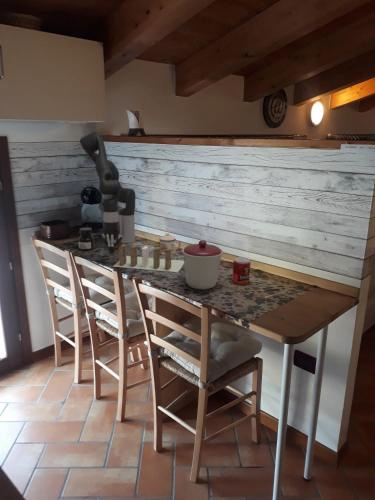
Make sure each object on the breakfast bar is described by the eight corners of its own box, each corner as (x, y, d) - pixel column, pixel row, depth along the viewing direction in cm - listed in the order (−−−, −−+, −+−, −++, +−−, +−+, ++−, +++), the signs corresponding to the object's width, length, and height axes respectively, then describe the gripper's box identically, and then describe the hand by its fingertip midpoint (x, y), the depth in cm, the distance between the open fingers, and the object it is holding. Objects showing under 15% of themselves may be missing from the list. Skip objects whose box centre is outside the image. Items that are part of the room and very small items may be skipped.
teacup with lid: (156, 253, 221) (156, 233, 218) (167, 250, 227) (167, 230, 224) (170, 257, 213) (170, 237, 210) (182, 254, 220) (182, 234, 216)
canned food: (238, 286, 175) (240, 263, 172) (228, 280, 182) (230, 258, 179) (252, 283, 179) (254, 260, 175) (242, 278, 185) (243, 256, 182)
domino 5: (167, 266, 198) (167, 247, 195) (171, 267, 197) (171, 248, 194) (165, 269, 193) (165, 250, 190) (168, 270, 193) (168, 250, 190)
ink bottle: (75, 249, 225) (73, 229, 221) (84, 245, 233) (83, 226, 229) (89, 251, 221) (87, 231, 218) (98, 248, 229) (97, 228, 226)
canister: (229, 285, 175) (231, 240, 169) (203, 296, 163) (205, 248, 157) (199, 275, 187) (200, 233, 181) (172, 285, 174) (173, 240, 169)
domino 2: (134, 263, 201) (133, 245, 198) (137, 264, 201) (137, 245, 198) (130, 266, 196) (130, 247, 194) (134, 267, 196) (133, 248, 193)
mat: (125, 256, 214) (125, 255, 214) (185, 261, 208) (185, 260, 208) (112, 266, 197) (112, 266, 197) (177, 272, 190) (177, 272, 190)
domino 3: (145, 264, 200) (145, 246, 197) (148, 265, 200) (148, 246, 197) (142, 267, 195) (141, 248, 192) (145, 268, 195) (145, 249, 192)
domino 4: (156, 265, 199) (156, 247, 196) (159, 266, 198) (159, 247, 196) (153, 268, 194) (153, 249, 191) (156, 269, 194) (156, 250, 191)
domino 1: (123, 262, 202) (122, 244, 199) (126, 263, 202) (125, 244, 199) (119, 265, 198) (118, 246, 195) (122, 266, 197) (122, 247, 194)
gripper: (95, 220, 192) (96, 254, 197) (120, 222, 189) (121, 256, 194) (101, 218, 199) (103, 250, 204) (126, 219, 197) (126, 252, 201)
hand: (112, 253), depth 199 cm, fingers closed
